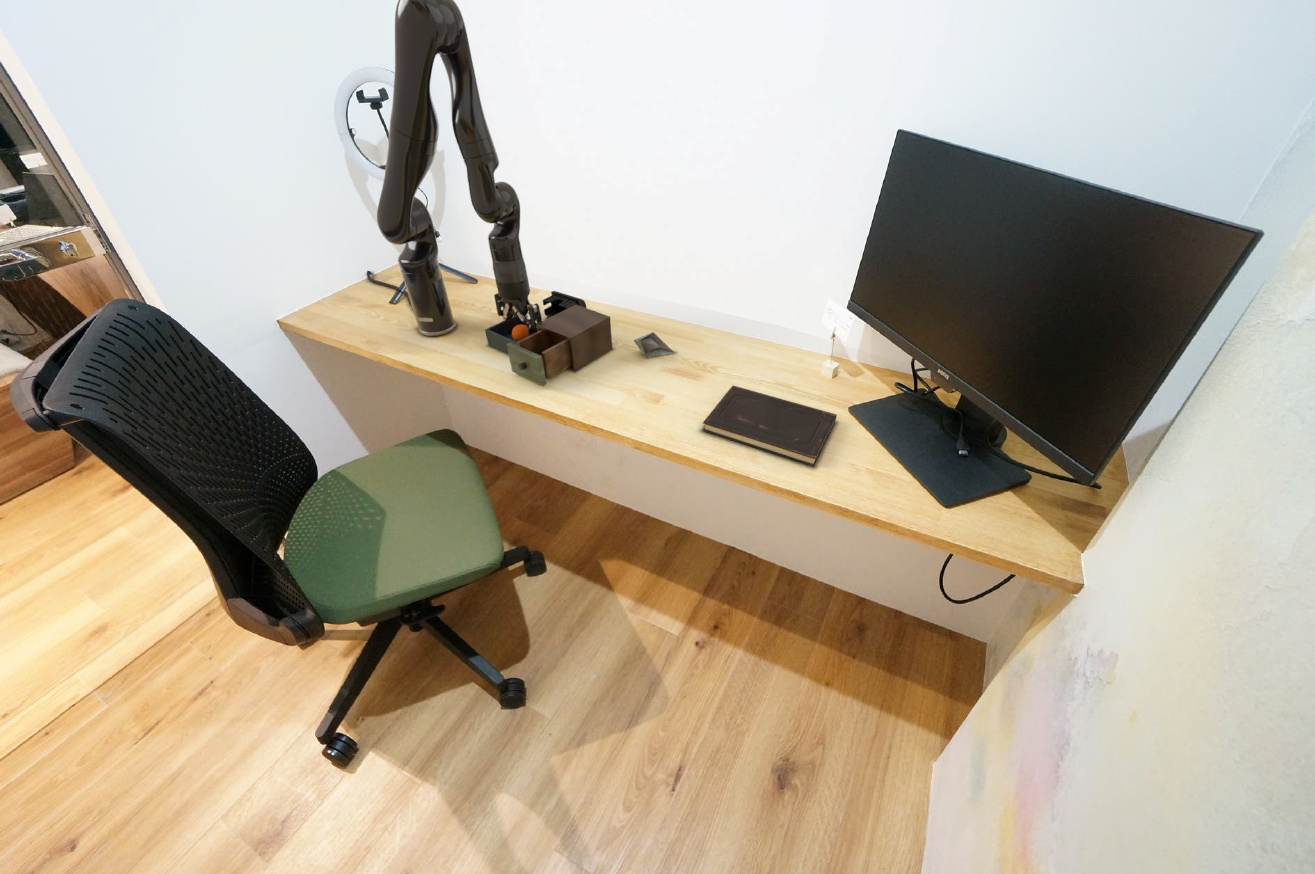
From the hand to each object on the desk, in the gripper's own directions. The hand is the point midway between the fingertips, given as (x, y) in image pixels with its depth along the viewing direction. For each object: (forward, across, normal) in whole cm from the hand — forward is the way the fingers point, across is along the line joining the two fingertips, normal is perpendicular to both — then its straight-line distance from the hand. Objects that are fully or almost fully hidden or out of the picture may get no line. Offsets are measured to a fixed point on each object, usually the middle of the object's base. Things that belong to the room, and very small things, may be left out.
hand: (523, 337), depth 136 cm
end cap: (+2, -2, +17) cm, 17 cm away
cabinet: (+2, +14, +5) cm, 15 cm away
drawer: (+1, +14, -6) cm, 15 cm away
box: (+2, 0, 0) cm, 2 cm away
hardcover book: (+3, +67, +7) cm, 68 cm away
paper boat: (+3, +30, +15) cm, 34 cm away
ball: (-1, 0, 0) cm, 1 cm away
